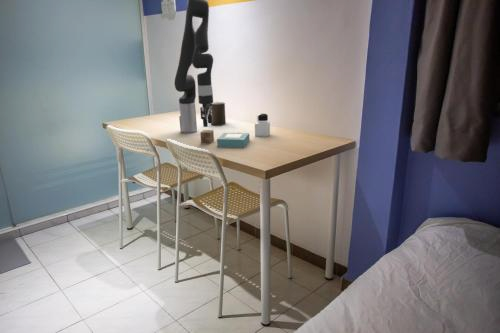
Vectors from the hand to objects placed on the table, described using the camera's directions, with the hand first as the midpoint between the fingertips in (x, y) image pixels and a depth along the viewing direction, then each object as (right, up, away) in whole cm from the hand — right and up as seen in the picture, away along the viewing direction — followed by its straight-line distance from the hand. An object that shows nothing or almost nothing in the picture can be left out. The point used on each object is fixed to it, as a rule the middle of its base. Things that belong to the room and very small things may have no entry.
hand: (207, 124), depth 197 cm
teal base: (+14, -10, -2) cm, 17 cm away
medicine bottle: (+30, -4, +14) cm, 33 cm away
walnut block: (0, -9, +3) cm, 9 cm away
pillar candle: (+2, +6, +47) cm, 47 cm away
